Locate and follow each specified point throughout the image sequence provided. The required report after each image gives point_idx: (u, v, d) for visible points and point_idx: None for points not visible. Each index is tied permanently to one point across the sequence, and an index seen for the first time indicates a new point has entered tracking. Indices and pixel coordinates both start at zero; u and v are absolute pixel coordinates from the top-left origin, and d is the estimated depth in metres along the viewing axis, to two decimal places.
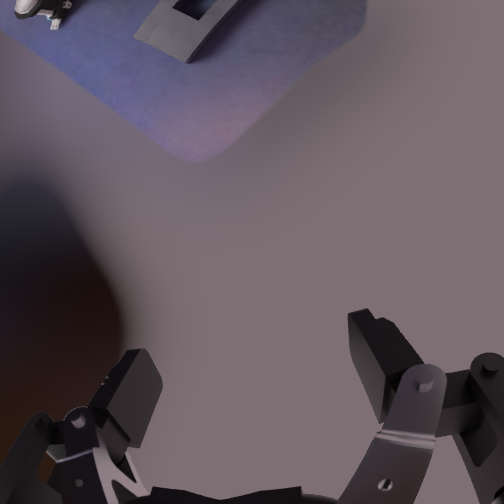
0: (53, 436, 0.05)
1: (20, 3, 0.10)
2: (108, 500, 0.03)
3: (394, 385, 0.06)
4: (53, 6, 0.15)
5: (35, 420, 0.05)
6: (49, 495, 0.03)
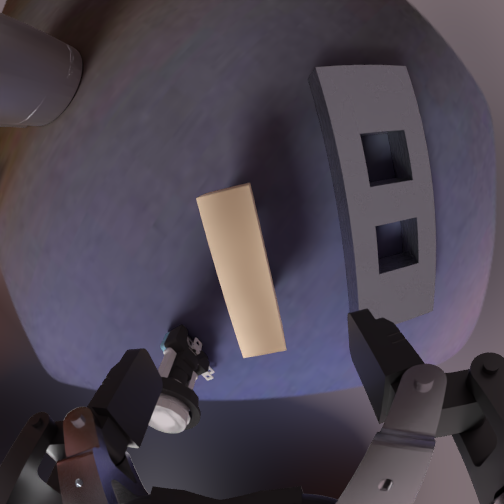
0: (53, 436, 0.05)
1: (159, 424, 0.16)
2: (108, 500, 0.03)
3: (394, 385, 0.06)
4: (191, 371, 0.22)
5: (35, 420, 0.05)
6: (49, 495, 0.03)
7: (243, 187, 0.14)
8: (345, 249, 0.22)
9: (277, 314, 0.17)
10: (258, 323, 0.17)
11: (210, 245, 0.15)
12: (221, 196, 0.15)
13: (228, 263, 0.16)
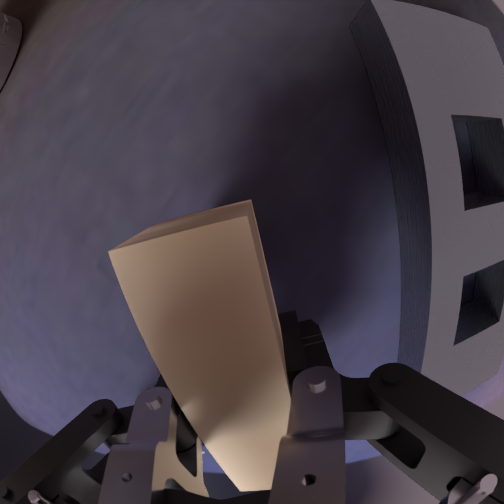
0: (119, 425, 0.06)
1: None
2: None
3: None
4: None
5: (96, 409, 0.06)
6: (88, 486, 0.04)
7: (230, 223, 0.05)
8: (406, 306, 0.12)
9: None
10: (265, 465, 0.07)
11: (156, 360, 0.06)
12: (169, 249, 0.05)
13: (201, 393, 0.06)
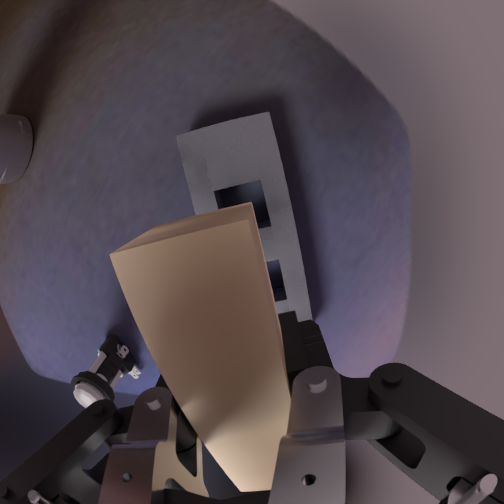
0: (119, 425, 0.06)
1: (86, 404, 0.22)
2: None
3: None
4: (115, 370, 0.27)
5: (96, 409, 0.06)
6: (88, 486, 0.04)
7: (231, 226, 0.05)
8: None
9: None
10: (265, 466, 0.07)
11: (157, 361, 0.06)
12: (171, 253, 0.05)
13: (202, 395, 0.06)
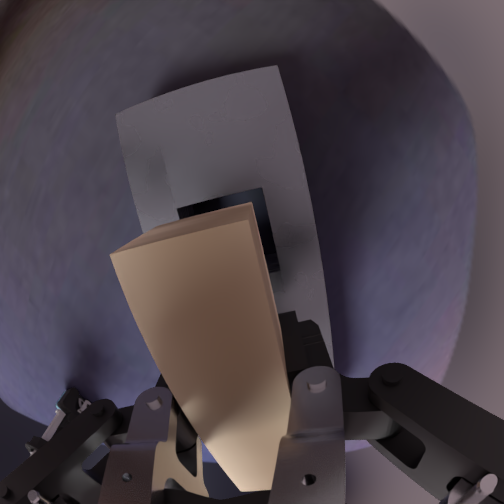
0: (119, 425, 0.06)
1: None
2: None
3: None
4: None
5: (96, 409, 0.06)
6: (88, 486, 0.04)
7: (231, 227, 0.05)
8: None
9: None
10: (265, 466, 0.07)
11: (158, 361, 0.06)
12: (170, 253, 0.05)
13: (202, 395, 0.06)
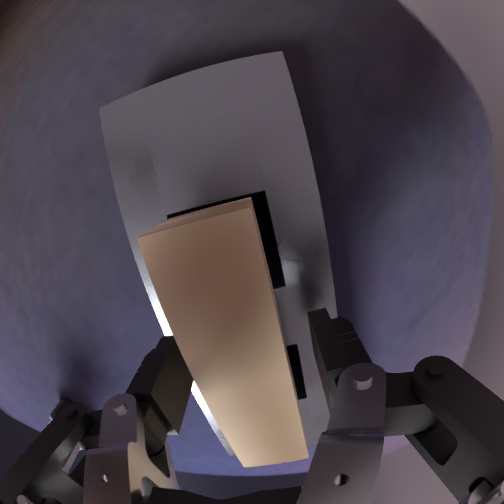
0: (89, 427, 0.06)
1: None
2: (133, 502, 0.03)
3: (337, 381, 0.06)
4: None
5: (68, 412, 0.06)
6: (71, 488, 0.04)
7: (237, 213, 0.06)
8: None
9: (299, 425, 0.09)
10: (267, 436, 0.09)
11: (174, 331, 0.07)
12: (189, 235, 0.07)
13: (211, 361, 0.08)
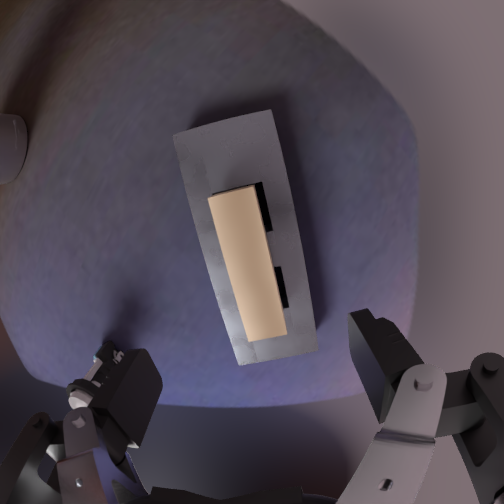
0: (53, 436, 0.05)
1: None
2: (108, 500, 0.03)
3: (394, 385, 0.06)
4: None
5: (35, 420, 0.05)
6: (49, 495, 0.03)
7: (248, 188, 0.17)
8: None
9: (278, 300, 0.19)
10: (261, 309, 0.19)
11: (219, 239, 0.18)
12: (229, 196, 0.17)
13: (235, 254, 0.18)
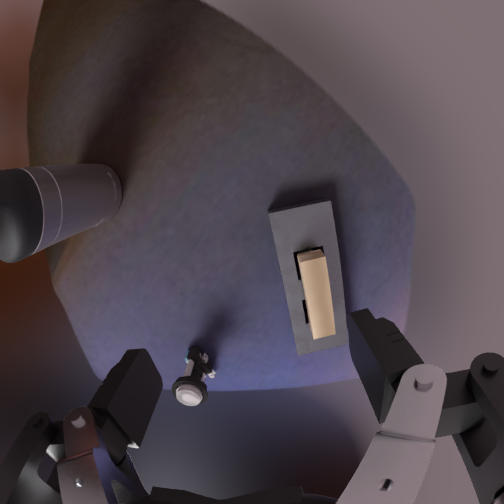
0: (53, 436, 0.05)
1: (186, 400, 0.34)
2: (108, 500, 0.03)
3: (394, 385, 0.06)
4: (202, 372, 0.40)
5: (35, 420, 0.05)
6: (49, 495, 0.03)
7: (322, 257, 0.31)
8: None
9: (333, 315, 0.33)
10: (323, 320, 0.33)
11: (305, 284, 0.32)
12: (312, 261, 0.31)
13: (312, 292, 0.32)
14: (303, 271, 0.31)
